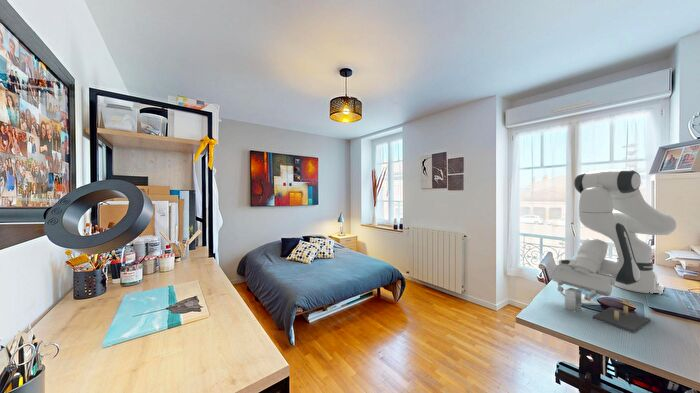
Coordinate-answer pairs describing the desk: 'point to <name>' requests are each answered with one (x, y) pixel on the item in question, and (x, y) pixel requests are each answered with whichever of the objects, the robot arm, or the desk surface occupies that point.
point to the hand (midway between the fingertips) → (572, 295)
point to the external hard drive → (585, 300)
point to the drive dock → (622, 319)
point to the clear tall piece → (573, 299)
